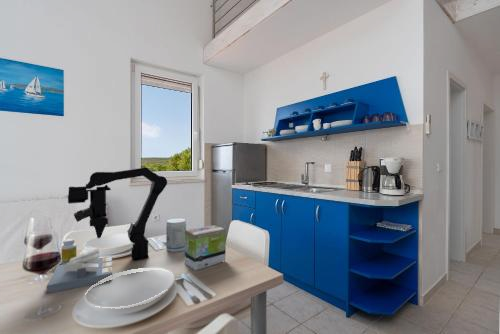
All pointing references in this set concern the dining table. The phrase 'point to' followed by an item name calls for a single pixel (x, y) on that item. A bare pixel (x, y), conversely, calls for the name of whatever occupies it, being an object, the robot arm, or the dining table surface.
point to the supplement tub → (175, 235)
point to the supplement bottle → (68, 250)
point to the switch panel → (79, 276)
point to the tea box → (205, 246)
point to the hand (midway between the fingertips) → (98, 237)
